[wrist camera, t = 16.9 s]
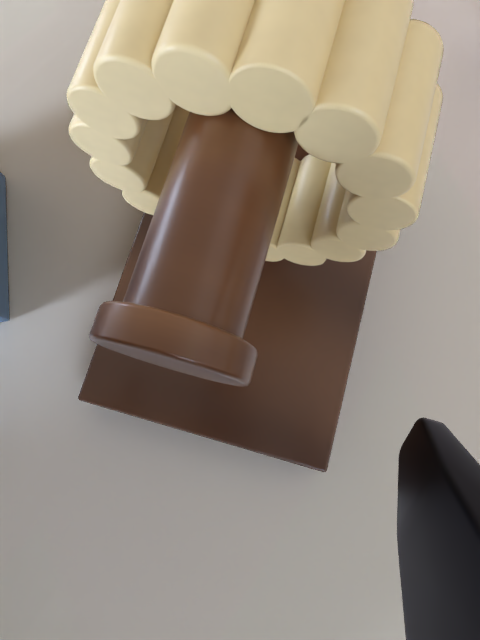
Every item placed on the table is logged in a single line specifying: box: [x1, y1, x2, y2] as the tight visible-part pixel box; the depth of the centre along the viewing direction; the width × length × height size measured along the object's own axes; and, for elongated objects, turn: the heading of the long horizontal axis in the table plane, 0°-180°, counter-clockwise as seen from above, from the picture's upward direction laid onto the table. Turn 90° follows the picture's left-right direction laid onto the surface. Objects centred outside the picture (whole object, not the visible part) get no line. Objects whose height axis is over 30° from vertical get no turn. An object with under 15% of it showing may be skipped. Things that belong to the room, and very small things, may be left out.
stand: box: [78, 108, 377, 472], centre depth 11 cm, size 13×9×13 cm
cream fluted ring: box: [67, 0, 444, 266], centre depth 9 cm, size 3×7×7 cm, turn 74°
